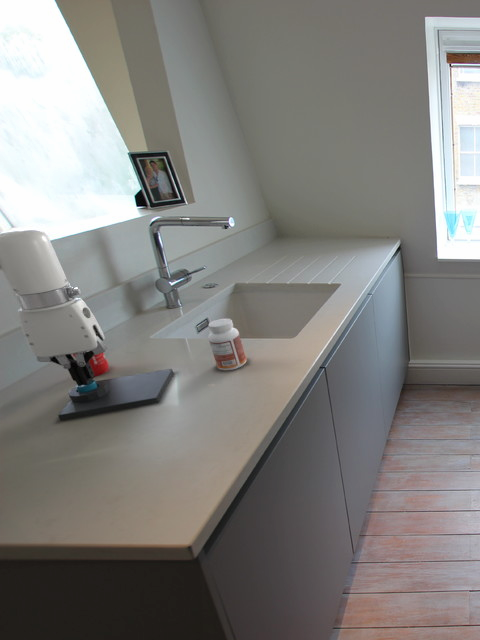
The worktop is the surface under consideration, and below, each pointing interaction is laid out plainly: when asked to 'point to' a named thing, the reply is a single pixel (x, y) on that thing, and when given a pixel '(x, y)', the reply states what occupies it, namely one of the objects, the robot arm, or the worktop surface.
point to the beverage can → (98, 364)
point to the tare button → (87, 387)
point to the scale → (118, 394)
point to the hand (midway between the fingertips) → (86, 381)
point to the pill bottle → (226, 345)
